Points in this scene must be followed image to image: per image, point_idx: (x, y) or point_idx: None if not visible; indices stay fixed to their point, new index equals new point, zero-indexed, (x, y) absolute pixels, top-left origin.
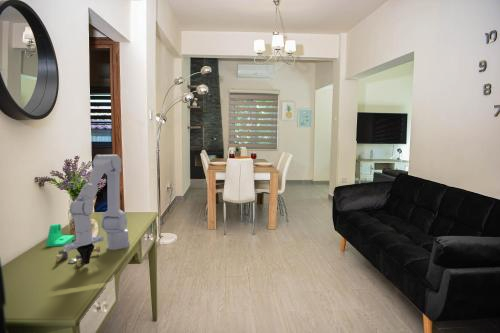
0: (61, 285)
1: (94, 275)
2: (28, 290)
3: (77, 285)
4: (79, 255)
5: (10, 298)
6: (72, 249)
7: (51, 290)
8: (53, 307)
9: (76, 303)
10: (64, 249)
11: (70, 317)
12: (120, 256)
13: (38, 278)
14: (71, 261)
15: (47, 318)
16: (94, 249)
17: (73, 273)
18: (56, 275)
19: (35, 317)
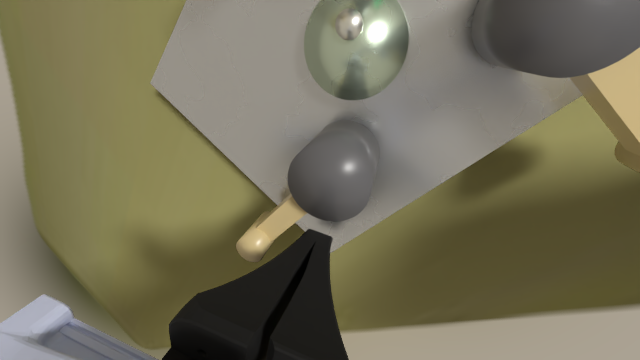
0: (174, 220)
1: None
2: (69, 122)
3: (212, 276)
4: (319, 182)
5: (17, 117)
6: (110, 345)
7: (137, 215)
8: (122, 291)
9: (167, 329)
10: (25, 307)
11: (141, 344)
12: (623, 294)
13: (113, 24)
14: (315, 63)
15: (105, 306)
16: (630, 136)
17: None
18: None
19: (85, 281)
